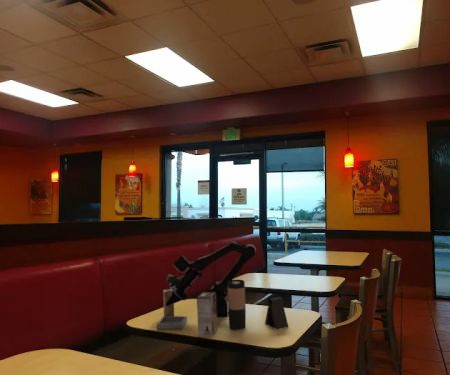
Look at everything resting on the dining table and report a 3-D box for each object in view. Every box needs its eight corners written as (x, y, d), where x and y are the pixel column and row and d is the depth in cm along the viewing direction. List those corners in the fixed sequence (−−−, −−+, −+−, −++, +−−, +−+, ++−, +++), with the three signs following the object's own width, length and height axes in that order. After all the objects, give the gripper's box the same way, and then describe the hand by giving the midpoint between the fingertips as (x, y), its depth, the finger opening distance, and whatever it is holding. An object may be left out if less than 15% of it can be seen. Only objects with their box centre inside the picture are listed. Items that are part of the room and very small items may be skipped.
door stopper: (288, 326, 164) (287, 298, 165) (277, 329, 161) (276, 301, 162) (275, 321, 172) (274, 294, 173) (264, 324, 169) (263, 296, 170)
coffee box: (203, 329, 165) (202, 291, 166) (217, 329, 164) (216, 292, 164) (197, 336, 156) (196, 297, 157) (212, 337, 155) (211, 297, 155)
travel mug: (237, 323, 171) (235, 278, 172) (249, 327, 165) (248, 280, 166) (225, 327, 166) (223, 281, 166) (237, 331, 160) (236, 283, 161)
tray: (186, 321, 176) (186, 316, 176) (181, 329, 165) (181, 323, 165) (163, 321, 177) (163, 316, 177) (157, 329, 166) (157, 323, 166)
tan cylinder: (172, 316, 186) (172, 289, 186) (174, 318, 181) (173, 290, 182) (163, 317, 184) (163, 289, 185) (165, 319, 180) (164, 291, 181)
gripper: (173, 265, 194) (151, 289, 190) (179, 271, 176) (155, 297, 172) (188, 279, 196) (167, 303, 192) (196, 287, 178) (173, 313, 174)
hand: (165, 304), depth 183 cm, fingers closed on tan cylinder, 4 cm apart
